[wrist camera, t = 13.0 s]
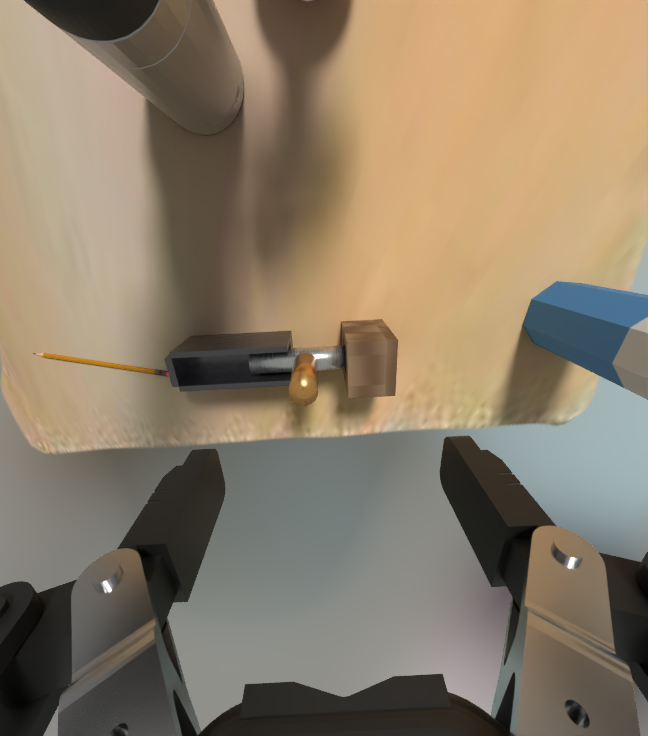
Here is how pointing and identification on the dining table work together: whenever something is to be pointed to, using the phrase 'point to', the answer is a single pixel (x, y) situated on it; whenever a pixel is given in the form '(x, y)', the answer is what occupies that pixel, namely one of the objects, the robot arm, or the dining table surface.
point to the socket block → (369, 358)
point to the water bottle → (594, 330)
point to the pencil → (104, 364)
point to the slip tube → (300, 368)
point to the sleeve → (226, 361)
